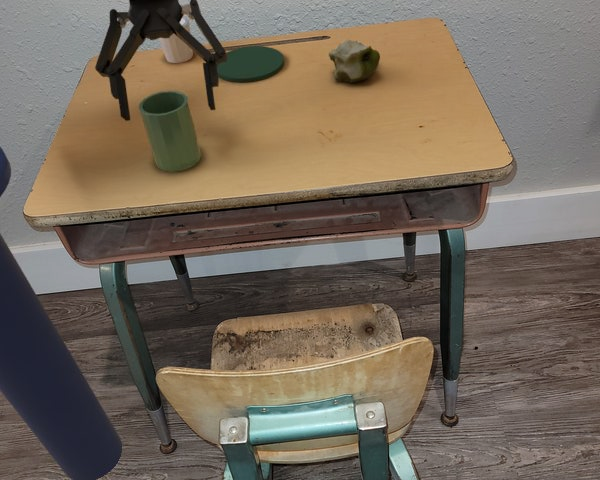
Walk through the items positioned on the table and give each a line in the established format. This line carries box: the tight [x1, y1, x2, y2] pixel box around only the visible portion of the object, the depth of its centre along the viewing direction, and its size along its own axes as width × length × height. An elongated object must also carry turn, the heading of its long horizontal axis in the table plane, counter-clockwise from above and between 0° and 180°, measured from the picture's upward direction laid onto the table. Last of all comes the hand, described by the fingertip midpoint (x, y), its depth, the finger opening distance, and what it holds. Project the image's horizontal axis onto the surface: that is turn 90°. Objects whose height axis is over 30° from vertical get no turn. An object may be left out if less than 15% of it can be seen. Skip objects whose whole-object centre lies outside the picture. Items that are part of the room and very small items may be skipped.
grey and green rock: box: [328, 39, 381, 84], centre depth 110 cm, size 9×9×8 cm
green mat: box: [217, 45, 285, 83], centre depth 119 cm, size 14×14×1 cm
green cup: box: [138, 90, 202, 173], centre depth 94 cm, size 7×7×10 cm
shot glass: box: [158, 16, 194, 64], centre depth 122 cm, size 7×7×7 cm
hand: (168, 113), depth 93 cm, fingers open, 13 cm apart
